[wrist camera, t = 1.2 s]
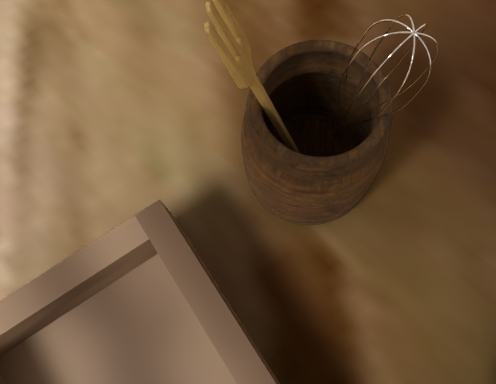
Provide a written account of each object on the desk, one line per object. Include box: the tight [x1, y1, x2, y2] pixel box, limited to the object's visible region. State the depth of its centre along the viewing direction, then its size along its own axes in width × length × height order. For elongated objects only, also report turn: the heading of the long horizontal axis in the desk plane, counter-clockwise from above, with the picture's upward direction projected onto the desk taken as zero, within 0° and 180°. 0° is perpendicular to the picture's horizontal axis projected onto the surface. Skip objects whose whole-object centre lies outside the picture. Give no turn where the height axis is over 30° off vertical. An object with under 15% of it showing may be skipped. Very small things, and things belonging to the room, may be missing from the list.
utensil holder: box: [204, 0, 439, 225], centre depth 17 cm, size 6×6×12 cm
